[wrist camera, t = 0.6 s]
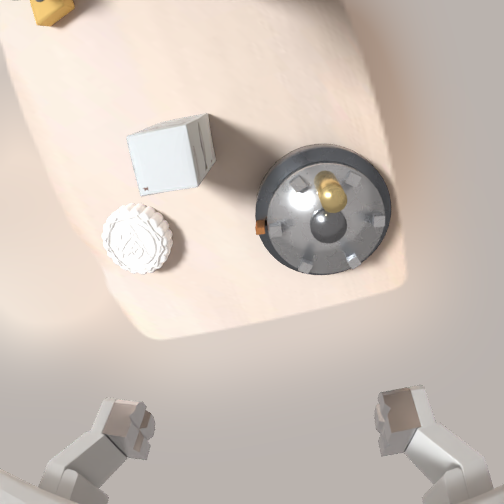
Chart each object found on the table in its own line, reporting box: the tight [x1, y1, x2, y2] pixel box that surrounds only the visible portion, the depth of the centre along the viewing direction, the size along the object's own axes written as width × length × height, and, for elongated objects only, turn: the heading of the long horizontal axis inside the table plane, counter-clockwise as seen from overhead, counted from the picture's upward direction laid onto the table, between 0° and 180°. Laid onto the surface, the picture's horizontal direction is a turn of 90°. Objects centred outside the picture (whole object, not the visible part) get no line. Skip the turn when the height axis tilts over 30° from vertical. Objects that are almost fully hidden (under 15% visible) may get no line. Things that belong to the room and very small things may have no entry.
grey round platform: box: [255, 144, 391, 275], centre depth 46 cm, size 20×20×6 cm
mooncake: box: [102, 203, 173, 274], centre depth 51 cm, size 12×12×4 cm
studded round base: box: [267, 161, 385, 274], centre depth 42 cm, size 17×17×9 cm
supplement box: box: [127, 113, 216, 196], centre depth 39 cm, size 7×7×13 cm
